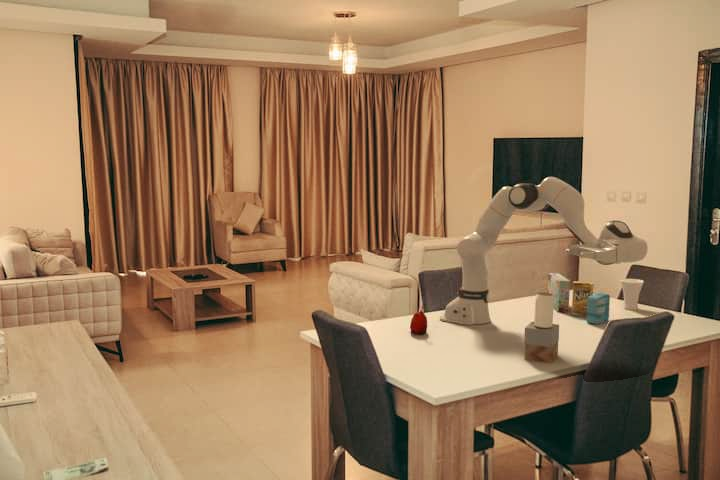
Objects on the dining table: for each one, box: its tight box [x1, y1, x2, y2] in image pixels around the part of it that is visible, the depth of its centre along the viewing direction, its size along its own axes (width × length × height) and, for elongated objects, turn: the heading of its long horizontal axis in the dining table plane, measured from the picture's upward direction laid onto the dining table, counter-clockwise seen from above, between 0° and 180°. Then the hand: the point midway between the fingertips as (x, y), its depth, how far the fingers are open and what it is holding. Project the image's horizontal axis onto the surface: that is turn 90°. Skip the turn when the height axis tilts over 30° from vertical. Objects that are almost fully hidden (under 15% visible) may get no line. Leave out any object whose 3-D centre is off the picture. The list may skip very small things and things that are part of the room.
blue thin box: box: [586, 292, 611, 325], centre depth 309 cm, size 12×4×12 cm, turn 134°
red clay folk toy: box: [409, 298, 428, 335], centre depth 291 cm, size 8×7×15 cm
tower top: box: [524, 321, 560, 347], centre depth 256 cm, size 10×10×6 cm
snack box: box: [547, 272, 571, 313], centre depth 337 cm, size 21×6×15 cm, turn 179°
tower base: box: [524, 341, 559, 364], centre depth 257 cm, size 10×10×6 cm
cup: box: [619, 278, 645, 311], centre depth 333 cm, size 10×10×14 cm
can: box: [533, 292, 555, 328], centre depth 254 cm, size 6×6×12 cm
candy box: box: [571, 280, 595, 317], centre depth 321 cm, size 9×4×15 cm, turn 68°
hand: (573, 253), depth 255 cm, fingers open, 8 cm apart
